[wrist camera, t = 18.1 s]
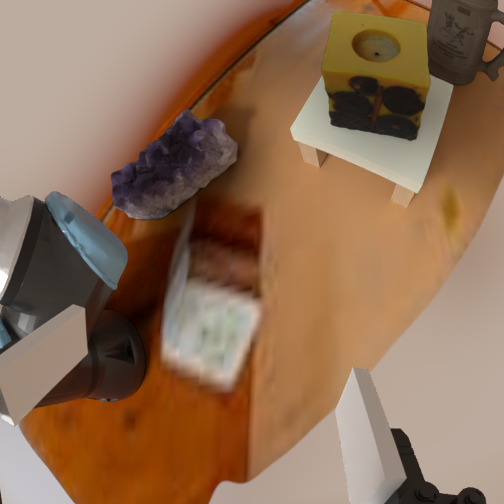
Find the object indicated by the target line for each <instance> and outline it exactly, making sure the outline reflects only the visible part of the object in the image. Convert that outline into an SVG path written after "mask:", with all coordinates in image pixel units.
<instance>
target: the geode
mask: <svg viewBox="0 0 504 504" xmlns="http://www.w3.org/2000/svg"><path fill="white" fill-rule="evenodd" d="M173 123H174V124H173V125H171V126H170V127H169V128H168V129H167V130H166V131H165V132H164V135H162V136H161V137H159V138H158V140H156V141H154V142H152V143H150V144H149V145H148V146H147V147H146V148H145V149H144V150H143V151H142V152H140V154H139V158H138V159H137V161H136V163H133V162H132V163H127V164H125V166H124V167H123V168H122V169H121V170H118V171H116V172H114V173H112V174H111V180H112V186H113V190H112V196H113V199H114V201H113V202H114V205H115V206H116V207H117V208H118V209H120V210H121V211H124V212H125V213H126V214H127V215H128V216H129V217H131V218H132V217H134V219H138V220H152V219H162V218H164V217H166V216H167V215H168V214H169V213H170V212H172V211H173V210H174V209H176V208H177V207H178V206H179V205H181V204H182V203H183V202H184V201H186V200H187V199H189V198H191V197H192V196H193V195H194V194H195V193H196V192H198V191H199V189H200V188H201V187H202V188H204V187H206V186H207V185H208V183H209V182H210V181H211V180H212V179H214V178H216V177H217V176H219V175H220V174H221V173H223V172H224V171H225V170H226V169H227V168H228V167H229V166H230V165H232V164H233V163H235V162H236V161H237V153H238V148H239V146H238V143H237V142H235V141H234V140H233V139H232V138H231V137H230V136H229V135H228V134H227V133H226V124H224V123H223V122H222V121H220V120H219V119H205V120H203V121H201V119H199V118H198V117H196V116H193V115H192V113H191V111H190V109H186V110H184V111H183V112H182V113H180V114H179V115H178V116H177V118H176V119H175V120H174V122H173Z"/></svg>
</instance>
